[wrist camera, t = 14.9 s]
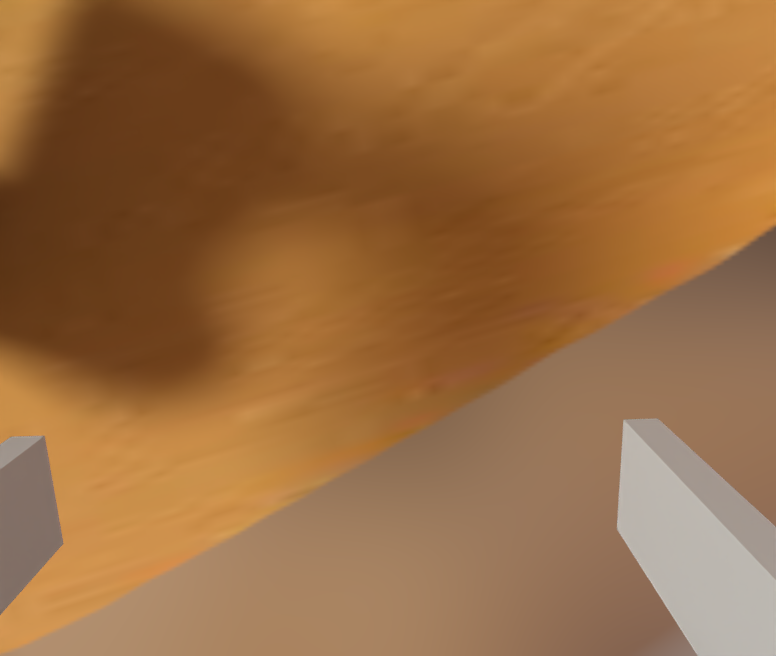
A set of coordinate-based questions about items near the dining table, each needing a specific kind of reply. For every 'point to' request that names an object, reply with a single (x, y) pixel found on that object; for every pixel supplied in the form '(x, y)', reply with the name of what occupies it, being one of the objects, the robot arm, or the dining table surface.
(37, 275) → the dining table surface
